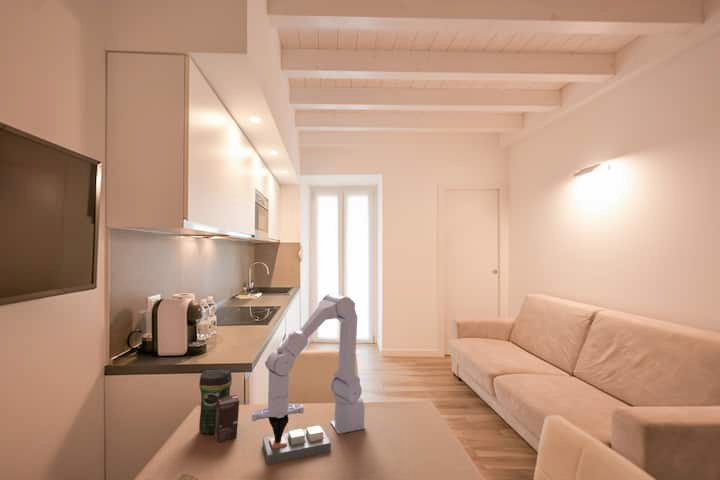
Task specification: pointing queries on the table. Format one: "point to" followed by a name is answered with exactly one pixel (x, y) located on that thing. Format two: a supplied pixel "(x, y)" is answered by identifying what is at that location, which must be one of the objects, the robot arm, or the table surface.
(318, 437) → the cream key
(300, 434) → the sage key
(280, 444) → the terracotta key
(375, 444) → the table surface
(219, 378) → the coffee jar
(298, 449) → the keypad
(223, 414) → the box
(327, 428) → the table surface
